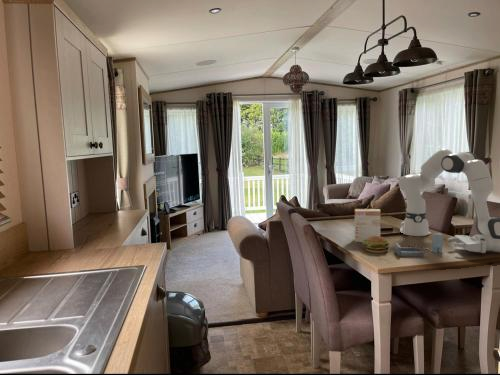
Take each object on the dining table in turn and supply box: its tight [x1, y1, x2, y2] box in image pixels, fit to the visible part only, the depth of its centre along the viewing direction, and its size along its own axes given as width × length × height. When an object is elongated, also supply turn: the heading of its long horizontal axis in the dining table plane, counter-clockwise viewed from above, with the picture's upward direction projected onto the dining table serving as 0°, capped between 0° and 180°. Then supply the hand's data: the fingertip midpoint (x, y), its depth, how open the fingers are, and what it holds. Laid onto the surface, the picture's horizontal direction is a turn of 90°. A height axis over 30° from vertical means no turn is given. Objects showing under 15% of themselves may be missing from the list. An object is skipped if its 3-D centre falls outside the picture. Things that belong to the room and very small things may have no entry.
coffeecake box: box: [354, 208, 382, 243], centre depth 237 cm, size 15×7×20 cm, turn 74°
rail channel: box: [394, 242, 425, 258], centre depth 208 cm, size 9×13×5 cm
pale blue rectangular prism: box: [431, 232, 444, 254], centre depth 211 cm, size 4×4×10 cm
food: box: [361, 235, 390, 254], centre depth 217 cm, size 14×14×8 cm
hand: (450, 242), depth 210 cm, fingers open, 8 cm apart
